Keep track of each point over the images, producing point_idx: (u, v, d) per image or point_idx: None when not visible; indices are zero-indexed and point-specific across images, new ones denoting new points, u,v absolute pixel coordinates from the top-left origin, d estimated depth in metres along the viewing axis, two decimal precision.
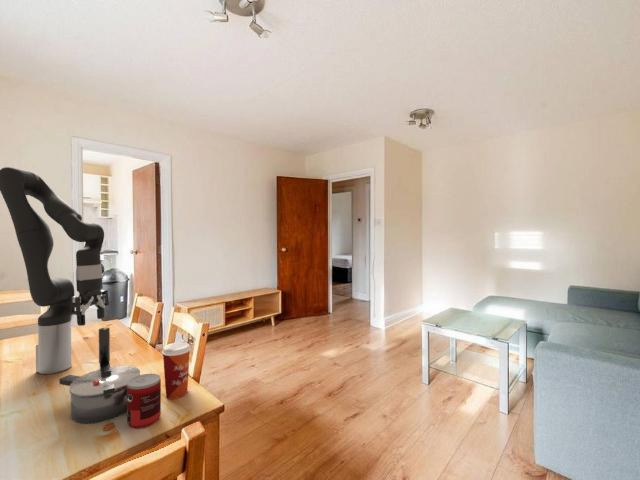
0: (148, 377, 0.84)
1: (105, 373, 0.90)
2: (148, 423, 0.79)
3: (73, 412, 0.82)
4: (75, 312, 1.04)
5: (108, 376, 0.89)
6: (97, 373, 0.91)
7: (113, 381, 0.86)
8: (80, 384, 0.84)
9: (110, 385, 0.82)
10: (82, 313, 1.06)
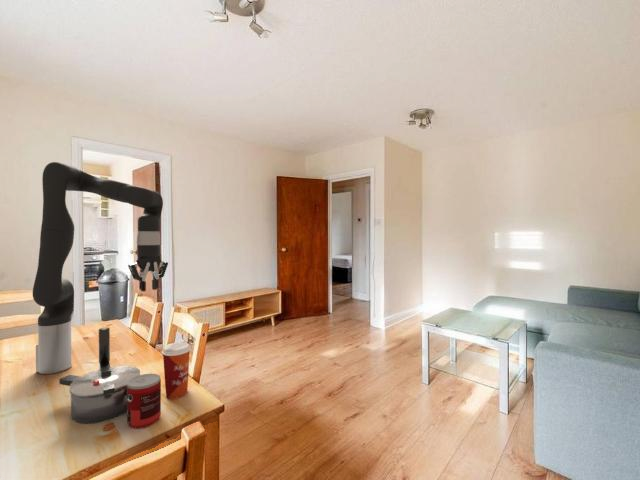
0: (148, 377, 0.84)
1: (105, 373, 0.90)
2: (148, 423, 0.79)
3: (73, 412, 0.82)
4: None
5: (108, 376, 0.89)
6: (97, 373, 0.91)
7: (113, 381, 0.86)
8: (80, 384, 0.84)
9: (110, 385, 0.82)
10: None
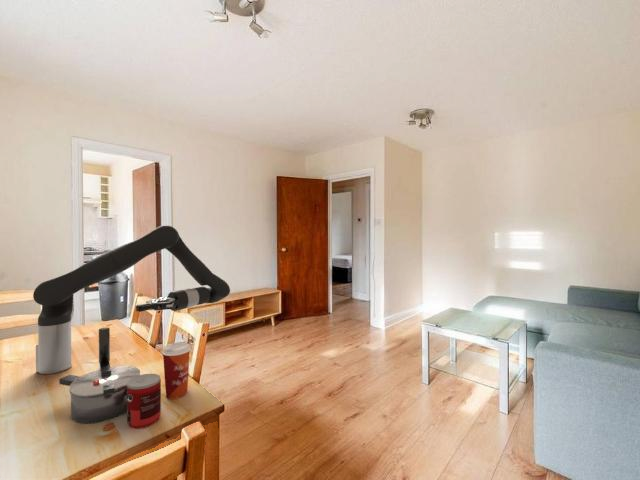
0: (148, 377, 0.84)
1: (105, 373, 0.90)
2: (148, 423, 0.79)
3: (73, 412, 0.82)
4: None
5: (108, 376, 0.89)
6: (97, 373, 0.91)
7: (113, 381, 0.86)
8: (80, 384, 0.84)
9: (110, 385, 0.82)
10: (147, 302, 1.09)
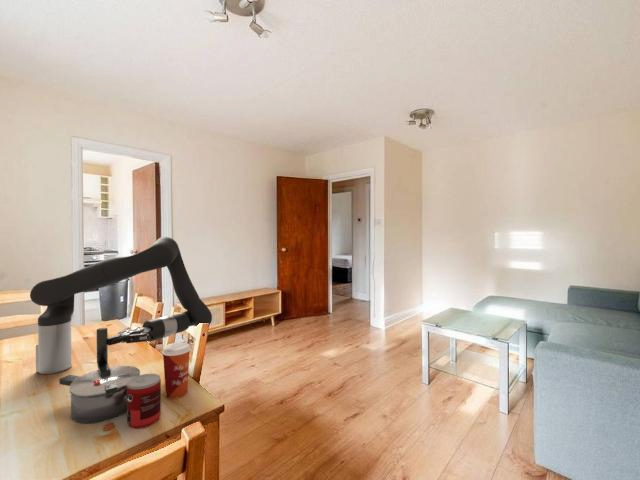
0: (148, 377, 0.84)
1: (105, 373, 0.90)
2: (148, 423, 0.79)
3: (73, 412, 0.82)
4: None
5: (108, 376, 0.89)
6: (96, 373, 0.91)
7: (114, 381, 0.86)
8: (80, 385, 0.84)
9: (112, 384, 0.82)
10: (119, 334, 1.02)
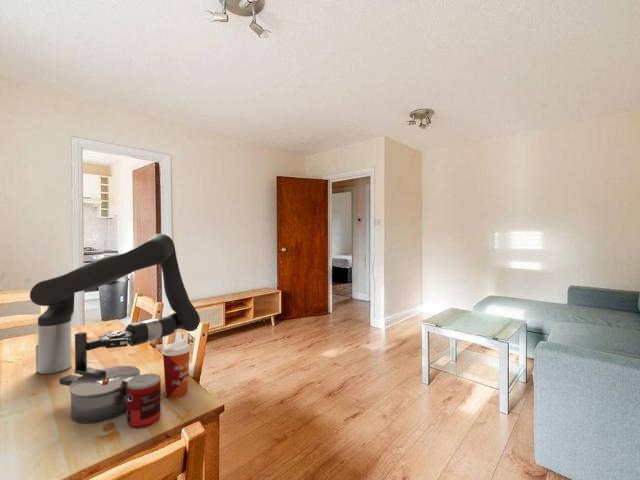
0: (148, 377, 0.84)
1: (101, 374, 0.89)
2: (148, 423, 0.79)
3: (73, 412, 0.82)
4: None
5: (106, 377, 0.89)
6: (87, 378, 0.88)
7: (120, 378, 0.88)
8: (85, 388, 0.82)
9: (129, 378, 0.86)
10: (99, 338, 0.97)
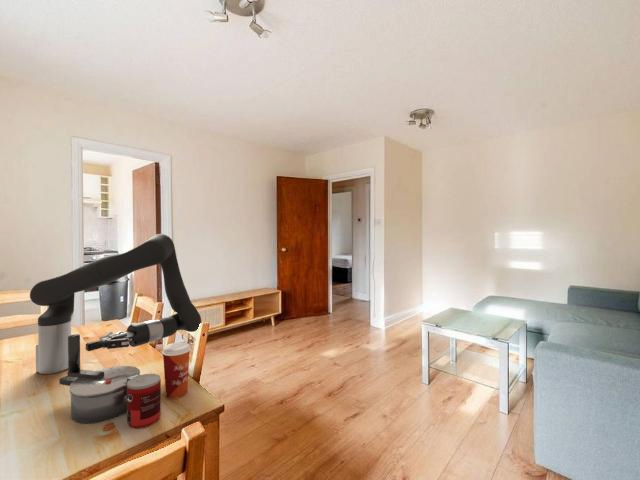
0: (148, 377, 0.84)
1: (100, 375, 0.88)
2: (148, 423, 0.79)
3: (73, 412, 0.82)
4: None
5: (105, 377, 0.89)
6: (84, 379, 0.87)
7: (121, 377, 0.89)
8: (88, 388, 0.82)
9: (134, 375, 0.87)
10: (100, 339, 0.97)
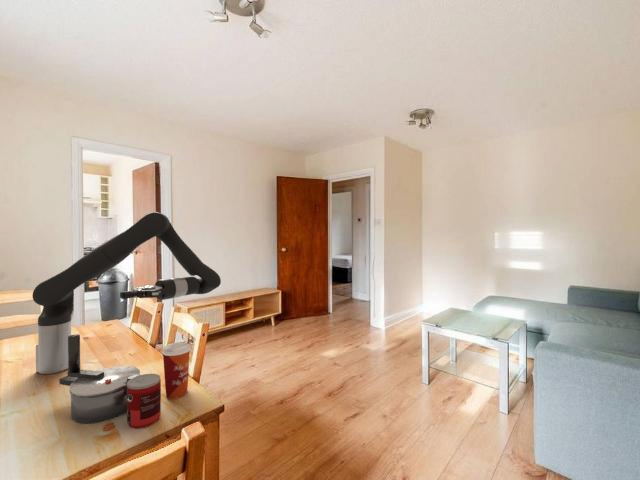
0: (148, 377, 0.84)
1: (100, 375, 0.88)
2: (148, 423, 0.79)
3: (73, 412, 0.82)
4: None
5: (105, 377, 0.89)
6: (84, 379, 0.87)
7: (121, 377, 0.89)
8: (88, 388, 0.82)
9: (134, 375, 0.87)
10: (132, 289, 1.05)
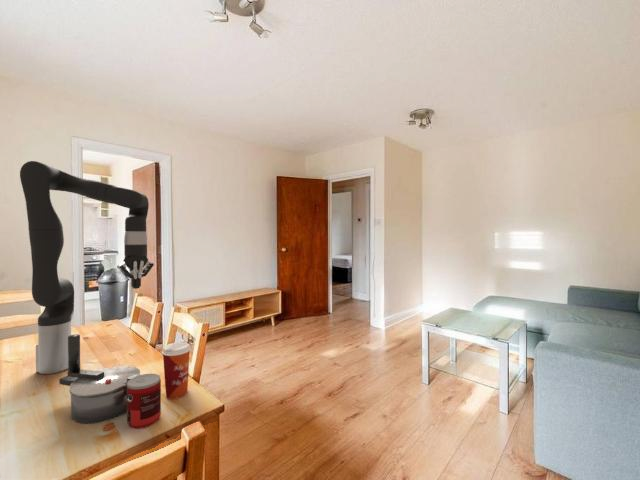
0: (148, 377, 0.84)
1: (100, 375, 0.88)
2: (148, 423, 0.79)
3: (73, 412, 0.82)
4: None
5: (105, 377, 0.89)
6: (84, 379, 0.87)
7: (121, 377, 0.89)
8: (88, 388, 0.82)
9: (134, 375, 0.87)
10: None
